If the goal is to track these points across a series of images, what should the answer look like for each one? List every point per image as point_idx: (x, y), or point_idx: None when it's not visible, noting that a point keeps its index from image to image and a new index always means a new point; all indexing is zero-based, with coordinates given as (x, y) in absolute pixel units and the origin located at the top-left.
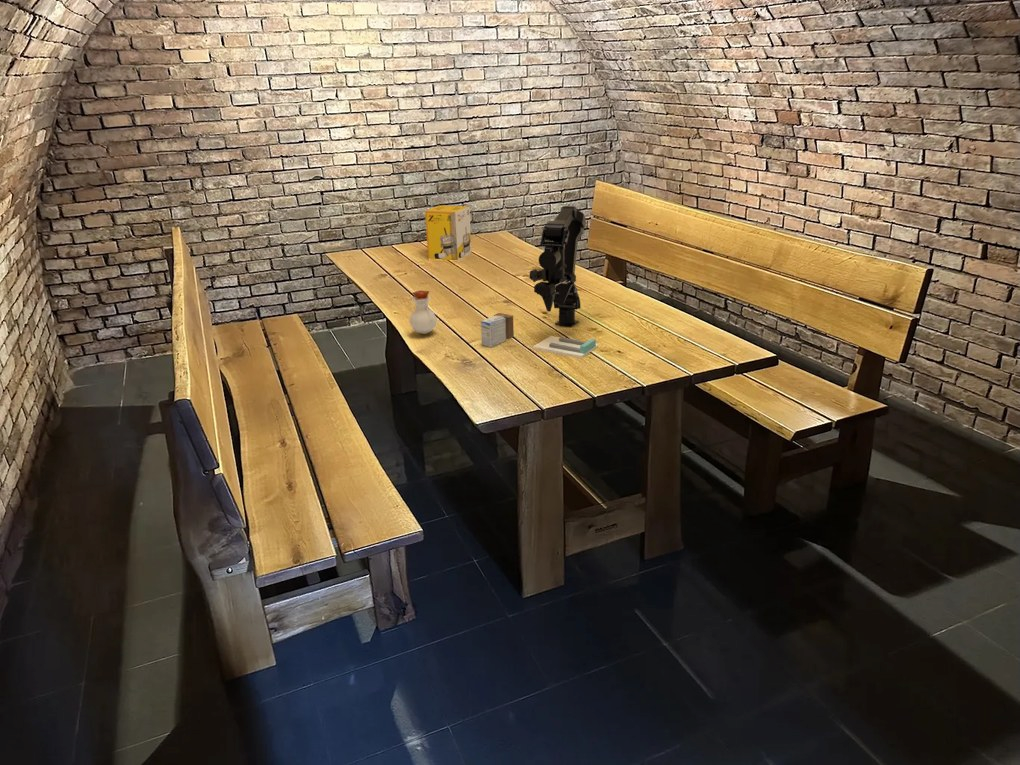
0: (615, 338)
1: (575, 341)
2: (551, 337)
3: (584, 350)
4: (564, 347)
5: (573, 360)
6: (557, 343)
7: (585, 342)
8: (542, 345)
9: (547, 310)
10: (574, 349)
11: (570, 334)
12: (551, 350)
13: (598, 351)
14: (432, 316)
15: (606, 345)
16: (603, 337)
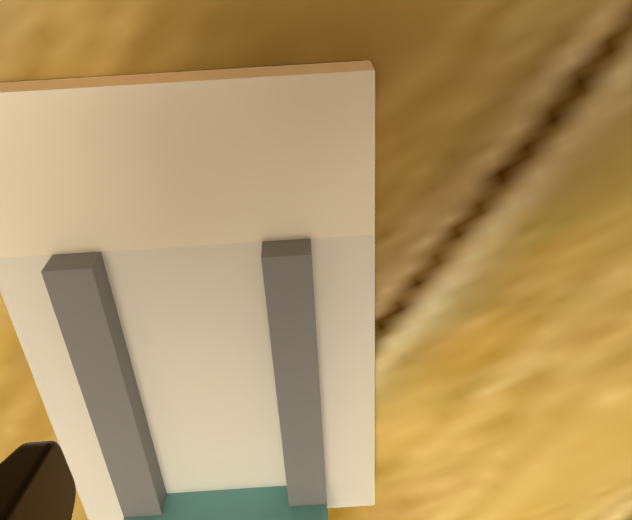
0: (624, 477)
1: (279, 411)
2: (325, 107)
3: None
4: (89, 409)
5: None
6: (195, 264)
7: (304, 475)
8: (32, 173)
9: (14, 469)
10: (112, 480)
11: (611, 156)
12: (9, 307)
13: None
14: None
15: (450, 493)
16: (619, 413)
